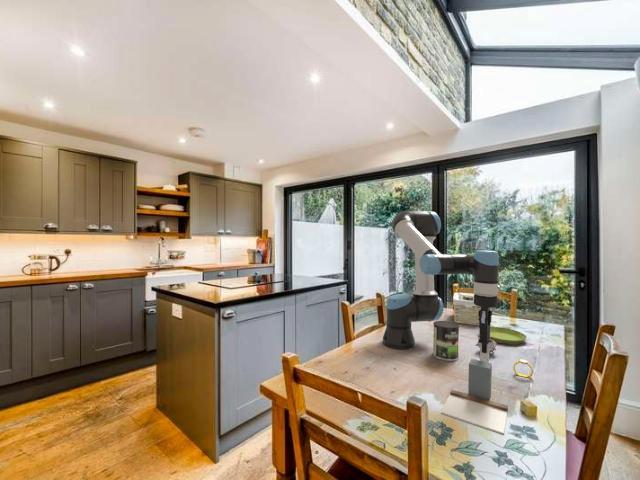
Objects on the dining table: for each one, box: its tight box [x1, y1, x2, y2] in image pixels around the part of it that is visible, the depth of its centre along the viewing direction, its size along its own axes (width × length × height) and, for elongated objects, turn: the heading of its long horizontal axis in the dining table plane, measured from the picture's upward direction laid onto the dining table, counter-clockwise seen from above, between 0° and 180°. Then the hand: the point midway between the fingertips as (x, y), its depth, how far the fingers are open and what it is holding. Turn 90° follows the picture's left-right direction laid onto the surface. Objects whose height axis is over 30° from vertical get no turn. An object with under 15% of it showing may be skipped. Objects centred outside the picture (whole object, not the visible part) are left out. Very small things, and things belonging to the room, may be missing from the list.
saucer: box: [490, 326, 528, 345], centre depth 154 cm, size 21×21×3 cm
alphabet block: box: [519, 399, 538, 417], centre depth 90 cm, size 3×3×3 cm
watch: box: [512, 359, 534, 378], centre depth 113 cm, size 6×3×6 cm, turn 59°
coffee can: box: [432, 320, 460, 362], centre depth 131 cm, size 10×10×14 cm
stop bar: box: [449, 389, 509, 413], centre depth 95 cm, size 16×2×1 cm, turn 54°
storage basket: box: [452, 292, 481, 326], centre depth 187 cm, size 24×16×15 cm
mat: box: [440, 394, 508, 435], centre depth 89 cm, size 16×12×1 cm
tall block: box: [467, 358, 493, 401], centre depth 98 cm, size 6×5×11 cm
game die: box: [474, 337, 499, 354], centre depth 135 cm, size 9×8×10 cm
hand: (484, 360), depth 106 cm, fingers closed
